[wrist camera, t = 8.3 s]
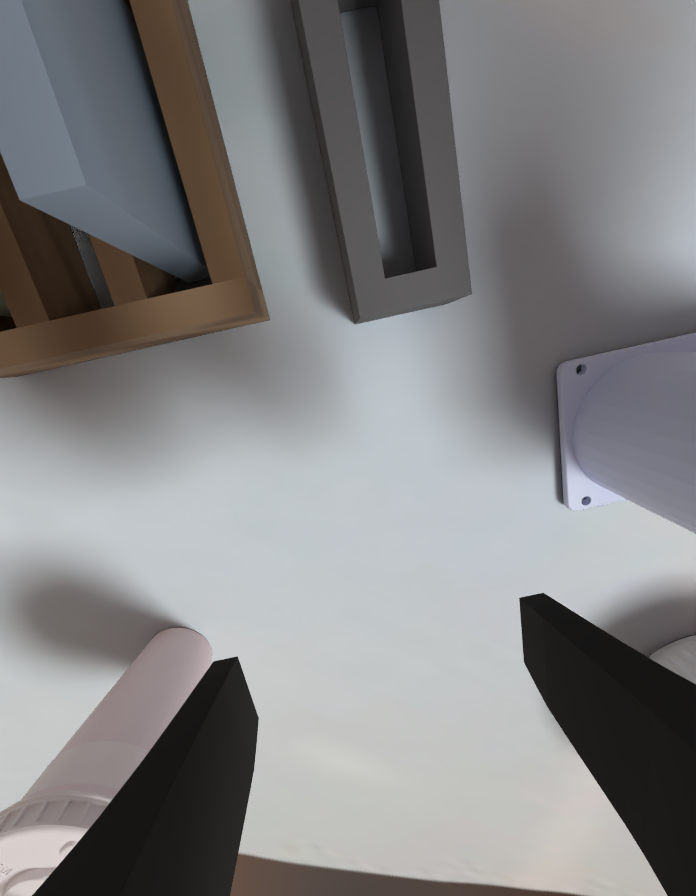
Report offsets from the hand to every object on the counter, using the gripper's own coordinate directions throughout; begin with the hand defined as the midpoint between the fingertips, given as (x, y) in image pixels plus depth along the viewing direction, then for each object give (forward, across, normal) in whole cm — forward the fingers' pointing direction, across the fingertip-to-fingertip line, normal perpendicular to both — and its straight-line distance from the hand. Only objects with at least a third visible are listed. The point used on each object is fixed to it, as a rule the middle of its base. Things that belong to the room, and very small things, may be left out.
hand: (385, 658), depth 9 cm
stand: (+10, -4, -15) cm, 18 cm away
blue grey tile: (+10, +5, -16) cm, 19 cm away
